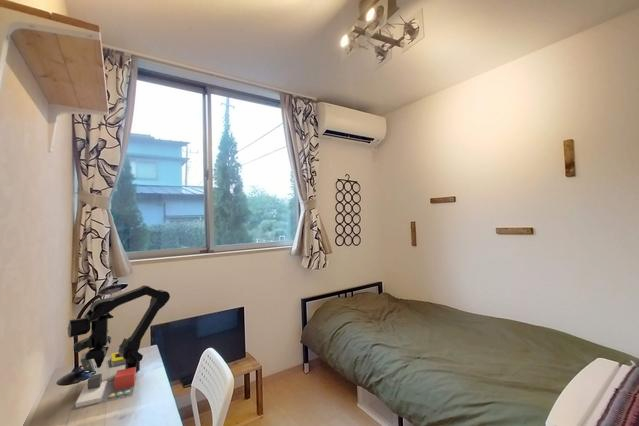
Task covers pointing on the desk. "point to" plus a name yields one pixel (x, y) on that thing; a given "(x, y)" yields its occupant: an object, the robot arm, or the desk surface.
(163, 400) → the desk surface
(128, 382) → the red block
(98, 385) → the grey cube
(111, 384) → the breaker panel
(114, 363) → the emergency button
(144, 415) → the desk surface
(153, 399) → the desk surface
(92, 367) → the electrical switch
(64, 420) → the desk surface
